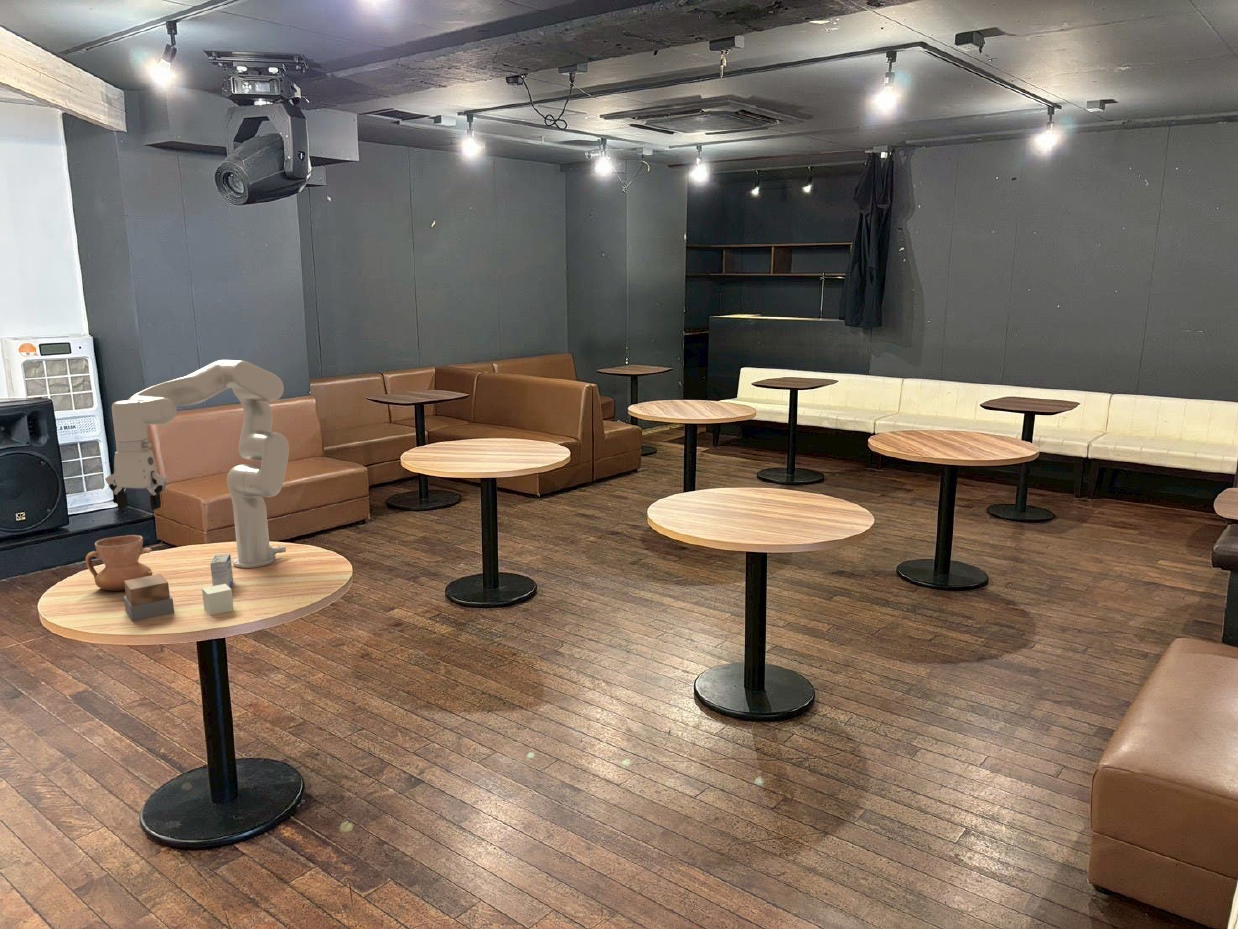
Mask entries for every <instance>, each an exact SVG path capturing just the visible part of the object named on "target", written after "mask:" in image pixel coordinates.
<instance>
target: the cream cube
mask: <svg viewBox="0 0 1238 929" xmlns="http://www.w3.org/2000/svg"><path fill="white" fill-rule="evenodd" d="M201 592H202V600H203V601H202V602H203V609H204V611H206V613H207V614H208V615H209V616H214V615H218V614H223V613H227V612H232V611H234V610H235V609H234V603H233V590H232V587H228V586H227V585H226V584H221V585H216V586H213V585H212V586H207V587H202V588H201Z"/></svg>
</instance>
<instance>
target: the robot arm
mask: <svg viewBox="0 0 1238 929" xmlns="http://www.w3.org/2000/svg"><path fill="white" fill-rule="evenodd" d="M228 389H232V392H233V394H234V395H235V397H236V398H237V399H238V401H239V403H240V405H241V407H242V411H243V421H242V426H241V431H240V437H239V441H238V454H239V456H241V458H242V459H245V460H247V461H253V462H260V465H256V464H243V463H242V464H238V465H235V466H234V467H232V468H231V469H230V470H229V471H228V473H227V476H226V484H227V485H226V486H227V489H228V492H229V494H230V498H231V503H232V510H233V522H234V530H235V532H234V533H235V541H236V542H235V543H236V551H237V553H236V554H237V557H236V558H234V559H233V561H232V564H233V566H234V567H236V568H241V569H252V568H258V567H264V566H268V565H271V564H273V563H274V562H276V559H277V557H276V555H277V554H281V553H285V552H286V551H287V550H286V546H285V545H283V546H279V545H276V546H271V545H270V537H269V535H270V534H269V526H268V513H267V505H266V502H265V499H264V498H273V497H276V496H277V495H278V494H279V493H281V490H282V488H283V486H284V482H285V478H286V472H287V467H288V462H289V456H290V455H289V454H290V444H289V441H288V439H287V438H286V436H285V435H283V434H282V433H280V432H278V431H272V428H273V422H274V414H273V410H272V407H271V405H270V404H269V402H276V401H277V400H279V399H280V398H281V397H282V396H283V394H284V390H285V387H284V384H283V381H282V379H281V378H280V376H278V375H276V374H275V373H273V372H271V371H269V370H266V369H264V368H262V367H260V366H258V365H255V364H254V363H251V362H249V361H246V360H241V359H240V360H237V359H219V360H216V361H213V362H211V363H209V364H207V365H206V366H203V367H201V368H199V369H197V370H195V371H193V372H191V373H189V374H187V375H185V376H182V377H178V378H175V379H172V380H168V381H165V382H162V383H159V384H155V385H152V386H150V387H148V388H145V389H143V390H141V391H139V392H136V393H135V394H134V395H132V396H130V397H129V398H128V399H127V400H117V401H115V402H113V403H112V404H111V413H112V414H111V415H112V422H113V430H114V438H115V447H116V449H115V450H116V451H115V452H114V459H113V460H114V462H113V467H114V468H113V469H114V470H113V473H112V474H110V475H108V476H107V477H105V482H106V483H107V486H108V488H109V489H110V490H111V491H112V492H113V494H114V495H116V504H117V508H118V510H122V509H124V508H127V507H129V502H128V494H127V492H126V489H139V490H140V489H145V490H147V491H148V492H149V493H150V494H151V495H149V500H150V502H149V503H150V510H152V511H155V510H158V509H160V508H161V506H162V500H161V493H163V491H164V489H165V488H166V485H167V484H168V483H167V482H168V478H167V477H165V476H164V475H161V474H159V471H158V465H157V462H156V459H155V456H154V453H153V450H151V449H150V448H151V447H152V443H151V442H149V439H148V433H147V432H148V431H147V426H150V425H151V426H153V425H155V426H156V425H159V426H161V425H162V426H163V425H167V424H169V423H171V422H172V421H173V420H174V419H175V418H176V416H177V412H178V410H177V409H178V408H177V407H185V406H192V405H197V404H201V403H204V402H206V401H207V400H209V399H211V398H213V397H214V396H216V395H218V394H220V393H222V392H224V391H225V390H228Z"/></svg>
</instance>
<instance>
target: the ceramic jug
mask: <svg viewBox="0 0 1238 929" xmlns="http://www.w3.org/2000/svg"><path fill="white" fill-rule="evenodd" d="M143 546H144V538H143V536H142V535H136V534H130V535H129V534H128V535H127V534H126V535H120V536H113V537H106V538H102V539H98V540H97V541H95V542H94V547H95V548H94V549H95V550H93V551H90V552H88V553H87V554H86V556H85V565H86V566H87V569H88V570H89V572H90V573H91V575H92V576H93V578H94V582H95V585H96V587H98V588H100V589H102V590H104V591H105V590H106V591H108V592H109V591H110V592H111V591H114V592H118V591H121V592H122V591H125V585H124V581H125V580H131V579H136V578H141V577H147V576H152V575H153V570H152V569H151V568H150V567H149V566H148V565H146V564H143V563H141V562H139V559H140V557H141V556H142V555H143V554H145V553H147V554H150V552H151V551H152V550H153V549H152V548H150V547H144V548H143ZM92 557H95V558H97V559H100V560H101V562H102V563H103V565H104V566H105V567H104V568H103V569H102V570H101V571H100V572H97V570H96V569H95V566H94V565H93V563H92Z"/></svg>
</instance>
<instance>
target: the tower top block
mask: <svg viewBox="0 0 1238 929" xmlns="http://www.w3.org/2000/svg"><path fill="white" fill-rule="evenodd" d="M124 585H125V590H124V592H125V593H124V594H125V596H126V598H127V599H128V601H129V602H130V603H131V605H132V606H134V605H139V604H144V603H149V602H154V601H159V600H164V599H169V598H170V596H171V594H170V588H169V582H168V580H167V579H166V578H165V577H164V576H163V574H162V573H158V574H152V576H147V577H141V578H136V579H131V580H125V581H124Z"/></svg>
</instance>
